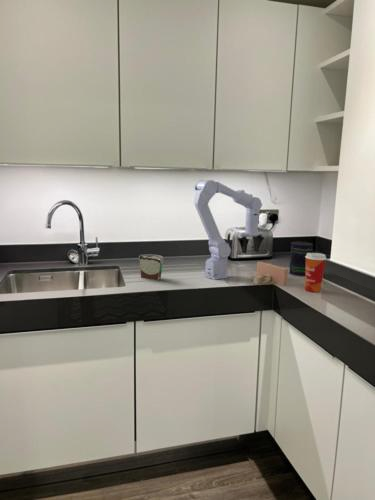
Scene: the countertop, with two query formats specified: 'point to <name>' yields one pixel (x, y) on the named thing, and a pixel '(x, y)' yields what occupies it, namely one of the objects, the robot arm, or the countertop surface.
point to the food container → (151, 266)
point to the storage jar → (299, 257)
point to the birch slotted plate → (262, 279)
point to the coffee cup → (314, 271)
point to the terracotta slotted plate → (273, 272)
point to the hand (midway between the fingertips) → (250, 252)
